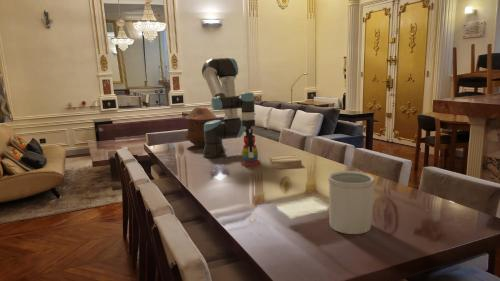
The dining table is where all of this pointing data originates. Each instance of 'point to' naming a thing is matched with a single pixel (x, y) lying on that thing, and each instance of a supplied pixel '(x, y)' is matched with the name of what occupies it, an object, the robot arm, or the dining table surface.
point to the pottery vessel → (198, 125)
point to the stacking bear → (245, 154)
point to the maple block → (285, 161)
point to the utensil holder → (350, 201)
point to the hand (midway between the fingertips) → (250, 155)
